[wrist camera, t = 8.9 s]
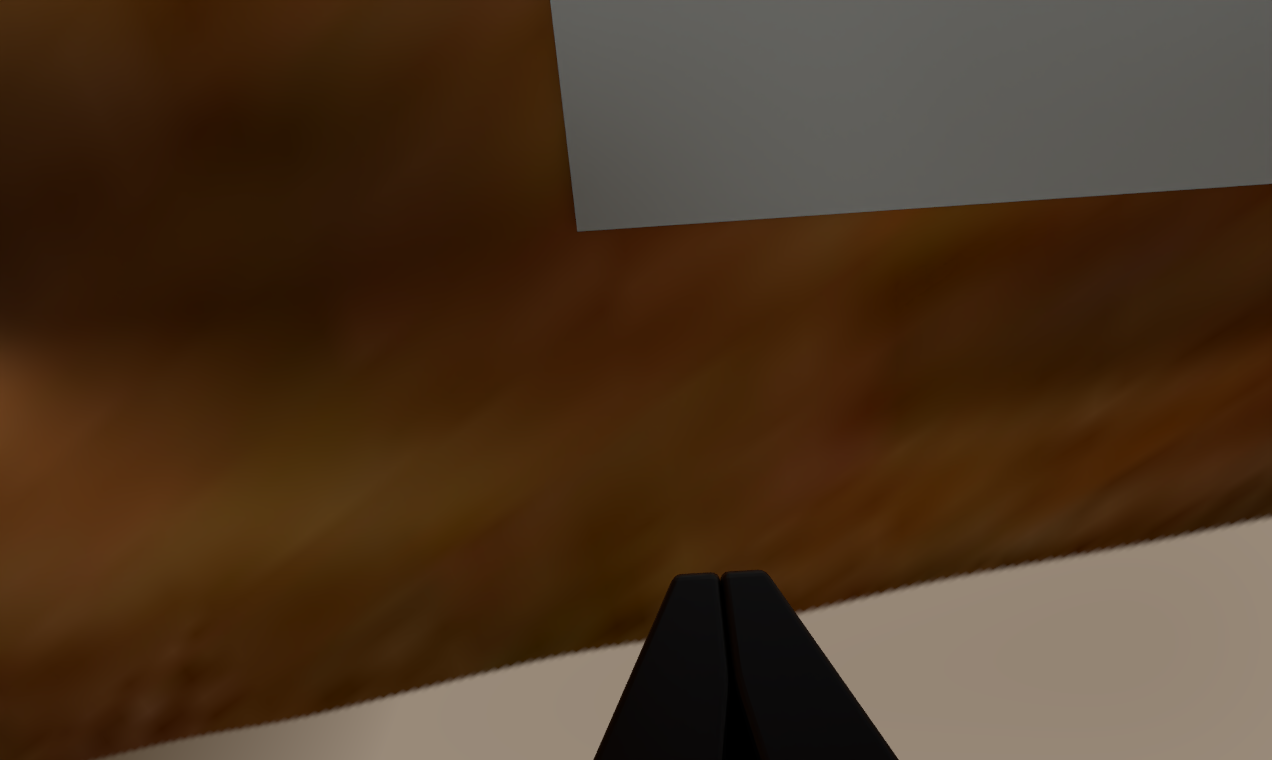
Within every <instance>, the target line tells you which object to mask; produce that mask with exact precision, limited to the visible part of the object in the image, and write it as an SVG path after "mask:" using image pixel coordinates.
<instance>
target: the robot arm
mask: <svg viewBox="0 0 1272 760" xmlns="http://www.w3.org/2000/svg"><path fill="white" fill-rule="evenodd" d="M594 760H898V758H897V757H896V755H895V754H894V752H893V751H892V750H891V748H890V747H889V745H888V744H887V742H886V741H885V740H884V738H883V737H882V735H881V734H880V732H879V731H878V730H877V728H876V727H875V725H874V724H873V723H872V721H871V720H870V718H869V717H868V715H867V714H866V713H865V711H864V710H863V708H862V707H861V705H860V704H859V703H858V701H857V700H856V698H855V697H854V695H853V694H852V693H851V691H850V690H849V688H848V687H847V685H846V684H845V683H844V681H843V680H842V678H841V677H840V676H839V674H838V673H837V671H836V670H835V668H834V667H833V666H832V664H831V663H830V661H829V660H828V658H827V657H826V656H825V654H824V653H823V651H822V650H821V648H820V647H819V646H818V644H817V643H816V641H815V640H814V638H813V637H812V636H811V634H810V633H809V631H808V630H807V629H806V627H805V626H804V624H803V623H802V621H801V620H800V619H799V617H798V616H797V614H796V613H795V611H794V610H793V609H792V607H791V606H790V604H789V603H788V601H787V600H786V599H785V597H784V596H783V594H782V593H781V591H780V590H779V589H778V587H777V586H776V584H775V583H774V582H773V580H772V579H771V577H770V576H769V575H768V574H767V573H766V572H764V571H762V570H747V571H729V572H725V573H724V574H723V575H722V576H721V579H719V577H718V575H717V574H715V573H711V572H710V573H692V574H679V575H677V576H675V577H674V579H673V580H672V582H671V584H670V586H669V588H668V590H667V593H666V595H665V597H664V599H663V602H662V604H661V606H660V609H659V611H658V613H657V616H656V618H655V620H654V622H653V625H652V627H651V629H650V632H649V634H648V636H647V638H646V641H645V643H644V645H643V648H642V650H641V652H640V655H639V657H638V659H637V662H636V664H635V666H634V668H633V670H632V673H631V675H630V678H629V680H628V682H627V684H626V687H625V689H624V691H623V693H622V696H621V698H620V700H619V703H618V705H617V707H616V710H615V712H614V714H613V717H612V719H611V721H610V723H609V726H608V728H607V730H606V732H605V735H604V737H603V739H602V742H601V744H600V746H599V748H598V751H597V753H596V755H595V757H594Z"/></svg>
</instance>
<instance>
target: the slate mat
mask: <svg viewBox="0 0 1272 760" xmlns="http://www.w3.org/2000/svg"><path fill="white" fill-rule="evenodd" d="M550 3H551V11H552V20H553V28H554V37H555V45H556V54H557V62H558V71H559V79H560V88H561V96H562V105H563V113H564V122H565V130H566V139H567V147H568V156H569V164H570V173H571V181H572V190H573V198H574V207H575V215H576V224H577V232H579V231H594V230H608V229H623V228H637V227H652V226H666V225H681V224H695V223H710V222H724V221H739V220H753V219H768V218H782V217H797V216H811V215H826V214H840V213H855V212H869V211H884V210H898V209H913V208H927V207H942V206H956V205H971V204H985V203H999V202H1014V201H1028V200H1043V199H1057V198H1072V197H1086V196H1101V195H1115V194H1130V193H1144V192H1159V191H1173V190H1188V189H1202V188H1217V187H1231V186H1246V185H1260V184H1272V0H550Z"/></svg>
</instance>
